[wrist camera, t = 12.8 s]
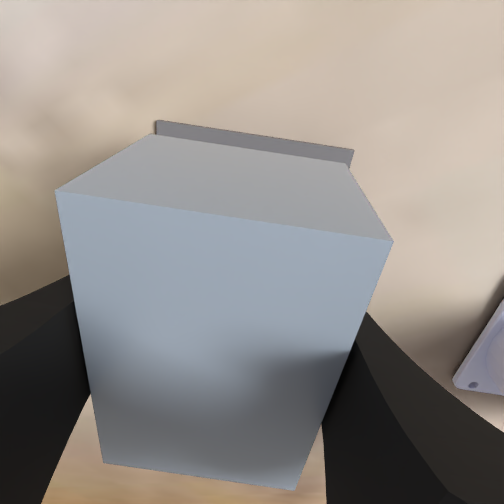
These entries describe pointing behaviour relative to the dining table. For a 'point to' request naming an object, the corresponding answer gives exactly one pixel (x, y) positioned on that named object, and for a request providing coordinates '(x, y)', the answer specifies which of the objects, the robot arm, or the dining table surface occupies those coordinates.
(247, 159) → the pale grey-blue block
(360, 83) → the dining table surface
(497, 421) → the dining table surface
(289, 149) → the tape square
